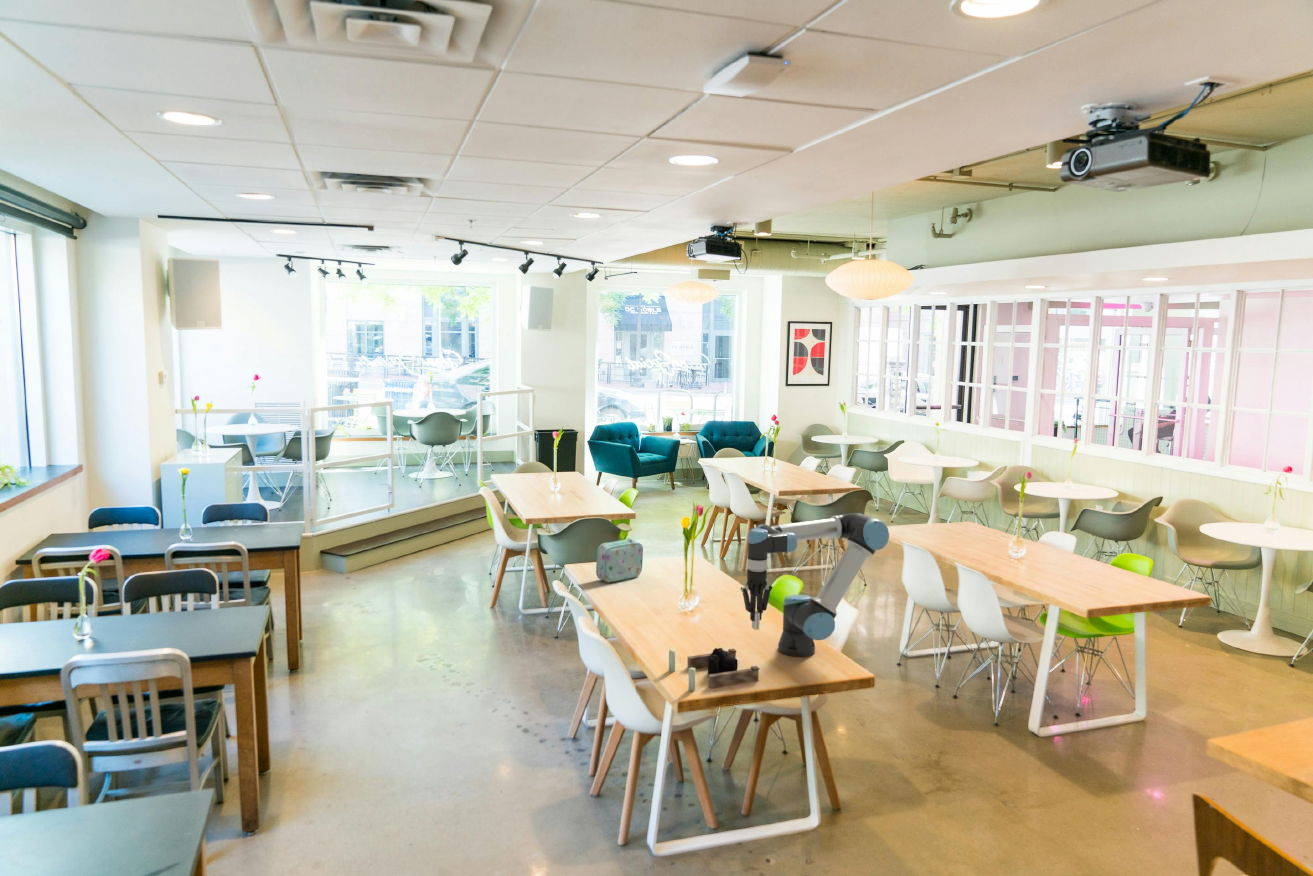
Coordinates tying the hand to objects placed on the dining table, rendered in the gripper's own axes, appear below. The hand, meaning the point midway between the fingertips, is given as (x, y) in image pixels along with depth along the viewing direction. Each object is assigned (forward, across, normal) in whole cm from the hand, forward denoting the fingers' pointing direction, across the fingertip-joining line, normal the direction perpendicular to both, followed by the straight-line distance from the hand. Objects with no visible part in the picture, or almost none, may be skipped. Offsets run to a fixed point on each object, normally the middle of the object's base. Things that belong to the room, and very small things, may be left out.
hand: (755, 628), depth 320 cm
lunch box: (+17, +9, -136) cm, 137 cm away
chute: (+16, +14, 0) cm, 22 cm away
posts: (+16, +31, 0) cm, 35 cm away
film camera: (+17, +13, -1) cm, 21 cm away
